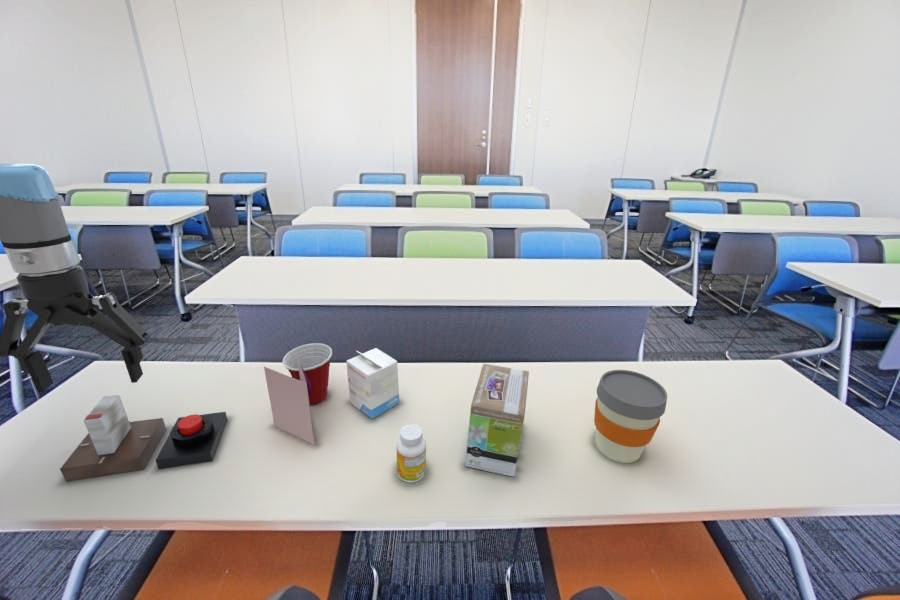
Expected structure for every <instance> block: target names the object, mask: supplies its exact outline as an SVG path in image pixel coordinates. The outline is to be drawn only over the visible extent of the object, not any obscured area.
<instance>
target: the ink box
mask: <svg viewBox="0 0 900 600" xmlns="http://www.w3.org/2000/svg"><path fill="white" fill-rule="evenodd" d="M355 352H356V353H357V355H356V356H353V357H351V358H349V359H346V371H347V373H346V374H347V382H348V392H349V393H348V394H349V402H350V404H351V405H352V406H354V407H355V408H356V409H358V410H359V411H361V412H362V413H363V414H364V415H366V416H367V417H368V418H369V419H371V420H374V419H375V418H377V417H378V416H380V415H381V414H383V413H385V412H386V411H388V410H390V409H392V408H393V407H395V406H396V405H398V404H399V403H400V392H399V391H400V389H399V369H398V366H399V365H398V360H396V359H395V358H393V357H392V356H391V355H389V354H387V353H385V352H384V351H382V350H380V349H378V347H374V348H372V349H370V350H367V351H365V352H363V353H362V352H360V351H358V350H355Z"/></svg>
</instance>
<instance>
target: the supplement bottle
mask: <svg viewBox="0 0 900 600" xmlns="http://www.w3.org/2000/svg"><path fill="white" fill-rule="evenodd" d="M424 437H425V436H423V429H422V427H421V426H419V425H417V424H413V423H412V424H411V423H410V424H407V425H404V426H403V427H402V428H401V429H400V432H399V437H398V439H397V441H396V446H395V447H396V473H397V476H398V478H399V479H400V480H401V481H403V482H405V483H416V482H418V481H420V480H422V479H423V478H424V477H425V475H426V471H427V442H426V439H425V438H424Z"/></svg>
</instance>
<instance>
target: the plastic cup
mask: <svg viewBox="0 0 900 600" xmlns="http://www.w3.org/2000/svg"><path fill="white" fill-rule="evenodd" d="M297 356H298V359H299V362H300V364H301V366H302V368H303V370H304V372H305V374H306V376H307V378H308V380H309V382H310V384H311V387H310V391H309V405H310V406H313V405H318V404H320V403H322V402H324V401H325V400H326V398H327V395H328V386H329V380H330V379H329V377H330V366H331V359H332V356H333V349H332V348H331V347H330V346H329V344H325V343H322V342H321V343H320V342H319V343H318V342H316V343H315V342H311V343H307V344H302V345H299V346H296V347H294V348H292V349H291V350H289V351H288V352H287V353H286V354H285V355H284V356H283V357H282V365H283V366H284V367H285V369H286V370H288V373H289V375H290V377H292V378H294V379H297V380H300V375H299V368H298V360H297Z"/></svg>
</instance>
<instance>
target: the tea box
mask: <svg viewBox="0 0 900 600" xmlns="http://www.w3.org/2000/svg"><path fill="white" fill-rule="evenodd" d="M529 374H530V371H529V370H524V369H518V368H511V367H507V366H506V367H505V366H501V365H500V366H499V365H495V364H488V363H483V364H482V367H481V370H480V374H479V377H478V381H477V383H476V387H475V390H474V394H473V396H472V401H471V405H470V413H469V423H468V431H467V433H468V434H467V443H466V454H465V463H464V465H465V467H468V468H473V469H476V470H480V471H486V472H490V473H493V474H499V475H504V476H508V477H513V478H514V477H515V476H516V472H517V466H518V460H519V454H520V449H521V441H522V434H523V430H524V429H523V428H524V421H525V414H526V405H527V396H528V385H529V376H530V375H529Z"/></svg>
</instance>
